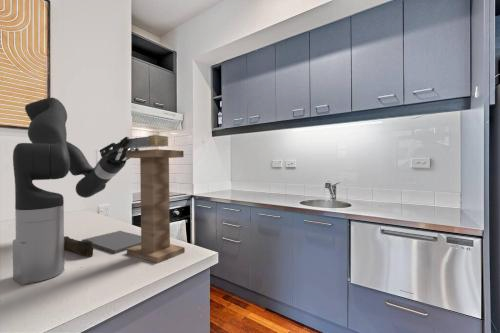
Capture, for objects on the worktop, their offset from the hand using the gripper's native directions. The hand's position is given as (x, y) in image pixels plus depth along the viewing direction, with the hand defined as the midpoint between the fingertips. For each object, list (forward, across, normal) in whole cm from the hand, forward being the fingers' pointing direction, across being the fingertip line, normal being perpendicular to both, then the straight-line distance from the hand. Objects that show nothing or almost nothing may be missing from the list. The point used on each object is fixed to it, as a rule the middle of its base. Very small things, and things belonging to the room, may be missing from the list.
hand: (133, 139), depth 82 cm
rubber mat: (-27, 0, +26) cm, 38 cm away
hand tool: (-29, -12, +26) cm, 41 cm away
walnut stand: (-8, 0, +37) cm, 38 cm away
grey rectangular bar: (+3, 0, +5) cm, 6 cm away
